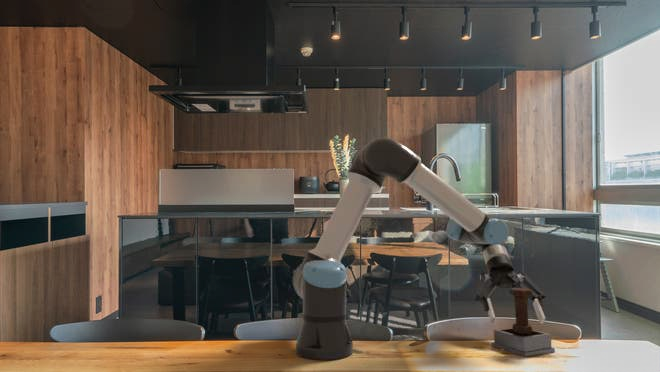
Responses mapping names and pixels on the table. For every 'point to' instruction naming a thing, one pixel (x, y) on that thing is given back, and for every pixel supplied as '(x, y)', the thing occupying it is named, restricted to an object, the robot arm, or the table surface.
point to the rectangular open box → (523, 342)
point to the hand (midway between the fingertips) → (517, 320)
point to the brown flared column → (521, 311)
